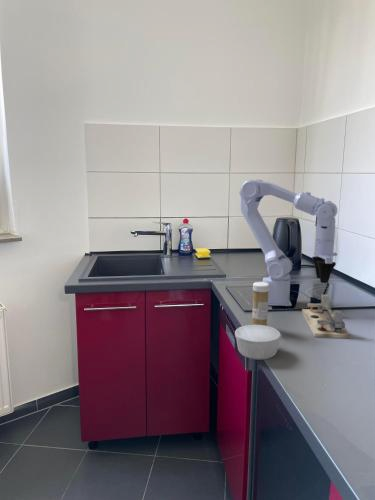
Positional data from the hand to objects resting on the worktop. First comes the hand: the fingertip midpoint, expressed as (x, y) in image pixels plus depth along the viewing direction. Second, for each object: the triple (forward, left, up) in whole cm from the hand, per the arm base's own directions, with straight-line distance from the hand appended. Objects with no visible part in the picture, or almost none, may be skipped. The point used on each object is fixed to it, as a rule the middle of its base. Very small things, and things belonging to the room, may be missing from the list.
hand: (322, 280), depth 129 cm
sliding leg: (-2, -5, -9) cm, 10 cm away
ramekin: (-23, -34, -10) cm, 43 cm away
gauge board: (-2, -13, -10) cm, 17 cm away
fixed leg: (-2, -20, -9) cm, 22 cm away
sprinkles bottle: (-21, -19, -10) cm, 30 cm away
